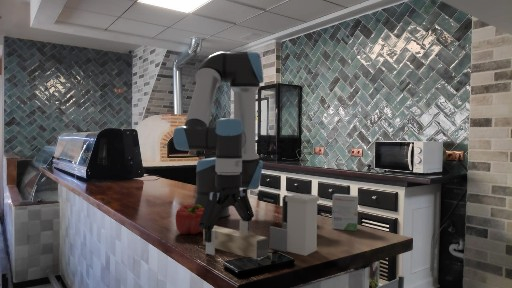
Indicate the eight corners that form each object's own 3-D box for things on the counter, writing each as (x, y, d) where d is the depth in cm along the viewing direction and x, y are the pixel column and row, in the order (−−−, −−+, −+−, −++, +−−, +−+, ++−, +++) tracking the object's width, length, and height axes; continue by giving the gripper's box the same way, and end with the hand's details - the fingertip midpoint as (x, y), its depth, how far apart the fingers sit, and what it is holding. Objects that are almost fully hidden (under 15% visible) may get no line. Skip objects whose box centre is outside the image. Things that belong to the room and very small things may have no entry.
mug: (297, 226, 129) (298, 201, 129) (277, 220, 139) (277, 196, 139) (317, 223, 134) (317, 199, 134) (295, 217, 144) (296, 194, 144)
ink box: (331, 229, 127) (332, 195, 126) (333, 225, 131) (333, 193, 131) (356, 231, 124) (357, 196, 124) (357, 227, 129) (358, 194, 128)
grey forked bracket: (269, 247, 104) (270, 194, 103) (284, 242, 110) (284, 192, 109) (305, 256, 96) (306, 199, 96) (319, 250, 102) (319, 196, 102)
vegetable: (214, 233, 118) (214, 203, 118) (188, 239, 111) (188, 207, 111) (194, 227, 126) (195, 199, 126) (168, 232, 118) (169, 202, 118)
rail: (203, 244, 106) (203, 227, 106) (213, 241, 109) (213, 225, 109) (258, 260, 93) (259, 241, 93) (268, 256, 96) (268, 237, 96)
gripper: (205, 177, 90) (204, 262, 90) (266, 171, 110) (265, 241, 110) (185, 175, 95) (184, 255, 95) (247, 170, 114) (246, 236, 115)
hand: (227, 248), depth 102 cm, fingers open, 13 cm apart
